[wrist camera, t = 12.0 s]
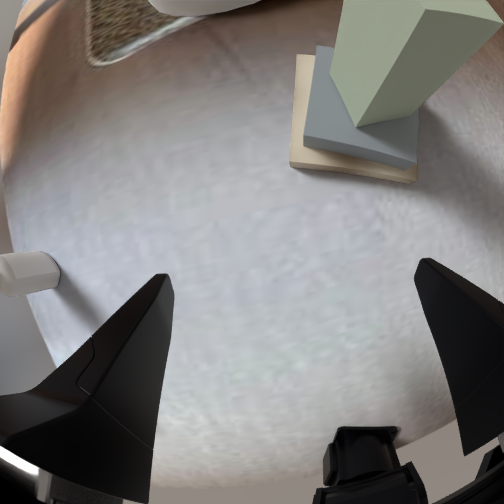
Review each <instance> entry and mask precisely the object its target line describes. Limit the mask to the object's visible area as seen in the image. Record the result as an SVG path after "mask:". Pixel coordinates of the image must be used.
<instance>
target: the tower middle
mask: <svg viewBox="0 0 504 504" xmlns="http://www.w3.org/2000/svg"><path fill="white" fill-rule="evenodd" d="M334 50H335V48H330V47H324V46H318V45H317V49H316V56H315V63H314V70H313V77H312V83H311V90H310V96H309V103H308V109H307V115H306V121H305V127H304V133H303V146H306V147H311V148H316V149H321V150H326V151H331V152H336V153H340V154H345V155H349V156H354V157H358V158H362V159H366V160H370V161H374V162H377V163H381V164H385V165H389V166H392V167H396V168H399V169H402V170H406V169H408V168H409V167H411V166H413V165H414V164H416V163H417V154H418V133H419V108H418V109H417V110H416V111H415V112H414V113H413V114H412V115H410V116H408V117H403V118H397V119H392V120H387V121H383V122H378V123H373V124H369V125H365V126H360V127H356V128H355V126H354V124H353V121H352V119H351V117H350V115H349V112H348V110H347V108H346V106H345V104H344V102H343V99H342V97H341V95H340V93H339V91H338V89H337V87H336V85H335V83H334V81H333V79H332V77H331V75H330V74H329V73H330V69H331V64H332V59H333V54H334Z"/></svg>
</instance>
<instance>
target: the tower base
mask: <svg viewBox="0 0 504 504" xmlns="http://www.w3.org/2000/svg"><path fill="white" fill-rule="evenodd" d="M314 63H315V56H313V55H299V54H297V63H296V79H295V94H294V108H293V121H292V134H291V146H290V157H289V163H290V167H297V168H307V169H316V170H324V171H332V172H340V173H347V174H354V175H361V176H367V177H373V178H379V179H385V180H391V181H396V182H401V183H406V184H410V183H412V182H414V181H417V163H416V164H414V165H413V166H411V167H409V168H408V169H406V170H402V169H399V168H396V167H392V166H389V165H385V164H381V163H377V162H374V161H370V160H366V159H362V158H358V157H354V156H349V155H345V154H340V153H336V152H331V151H326V150H321V149H316V148H311V147H306V146H303V133H304V127H305V121H306V115H307V109H308V103H309V96H310V90H311V83H312V77H313V70H314Z"/></svg>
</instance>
